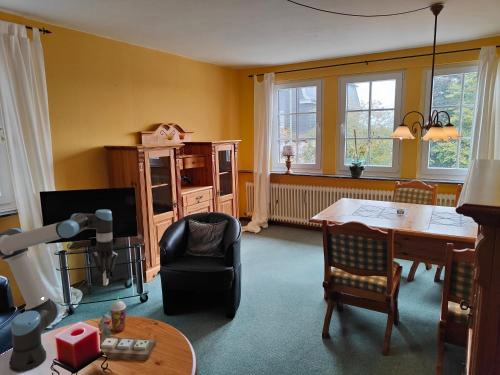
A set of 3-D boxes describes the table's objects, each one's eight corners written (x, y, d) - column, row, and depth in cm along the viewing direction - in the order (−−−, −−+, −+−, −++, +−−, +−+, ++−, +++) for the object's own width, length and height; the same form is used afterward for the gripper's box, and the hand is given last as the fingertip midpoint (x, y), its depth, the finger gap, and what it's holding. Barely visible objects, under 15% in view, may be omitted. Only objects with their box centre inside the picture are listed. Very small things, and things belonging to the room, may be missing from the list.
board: (93, 356, 170) (92, 351, 170) (105, 341, 183) (105, 336, 183) (147, 360, 169) (147, 354, 168) (156, 344, 182) (156, 339, 181)
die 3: (133, 354, 173) (133, 346, 172) (138, 347, 179) (138, 339, 178) (145, 355, 172) (145, 347, 172) (149, 348, 178) (149, 340, 178)
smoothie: (112, 326, 199) (112, 293, 196) (127, 325, 200) (127, 293, 198) (109, 334, 191) (108, 300, 188) (125, 332, 192) (124, 299, 189)
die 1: (101, 352, 174) (101, 344, 173) (106, 345, 179) (106, 337, 179) (112, 353, 173) (112, 345, 173) (117, 346, 179) (117, 338, 179)
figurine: (99, 343, 181) (98, 317, 179) (96, 336, 188) (96, 311, 186) (115, 339, 186) (114, 313, 184) (112, 332, 192) (111, 307, 190)
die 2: (117, 353, 173) (117, 345, 173) (122, 346, 179) (122, 338, 178) (128, 354, 173) (128, 346, 172) (133, 347, 179) (133, 339, 178)
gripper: (88, 241, 168) (89, 286, 172) (113, 242, 168) (115, 288, 171) (95, 237, 176) (97, 280, 179) (120, 238, 175) (121, 281, 178)
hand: (105, 284), depth 175 cm, fingers closed
